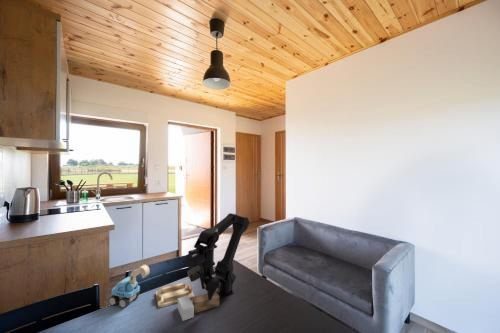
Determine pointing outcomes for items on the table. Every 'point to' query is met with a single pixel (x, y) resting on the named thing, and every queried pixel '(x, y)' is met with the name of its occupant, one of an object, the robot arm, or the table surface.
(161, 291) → the jig
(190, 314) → the light grey rectangular block
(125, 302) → the toy excavator
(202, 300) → the tan rectangular bar
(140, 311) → the table surface
